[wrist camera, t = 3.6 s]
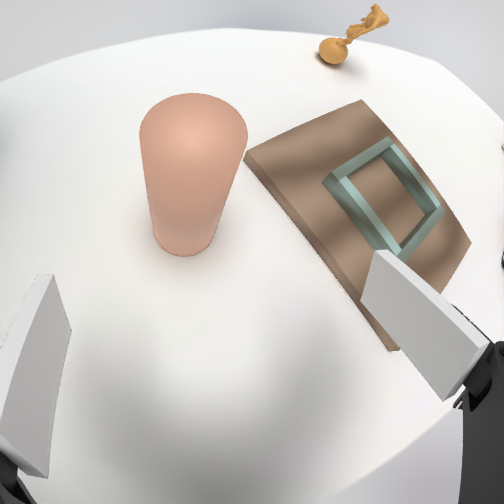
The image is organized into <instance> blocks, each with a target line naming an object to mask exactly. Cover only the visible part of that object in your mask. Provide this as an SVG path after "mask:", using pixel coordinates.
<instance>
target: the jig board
mask: <svg viewBox="0 0 504 504" xmlns="http://www.w3.org/2000/svg"><path fill="white" fill-rule="evenodd" d="M243 160H244V162H245V163H246V164H247V165H248V166H249V168H250V169H251V170H252V171H253V172H254V174H255V175H256V176H257V177H258V178H259V180H260V181H261V182H262V183H263V185H264V186H265V187H266V188H267V189H268V191H269V192H270V193H271V194H272V196H273V197H274V198H275V199H276V200H277V202H278V203H279V204H280V205H281V207H282V208H283V209H284V210H285V212H286V213H287V214H288V215H289V217H290V218H291V219H292V221H293V222H294V223H295V224H296V226H297V227H298V228H299V229H300V231H301V232H302V233H303V235H304V236H305V237H306V238H307V240H308V241H309V242H310V244H311V245H312V246H313V247H314V249H315V250H316V251H317V253H318V254H319V255H320V257H321V258H322V259H323V261H324V262H325V263H326V264H327V266H328V267H329V268H330V270H331V271H332V272H333V274H334V275H335V276H336V278H337V279H338V281H339V282H340V283H341V285H342V286H343V287H344V289H345V290H346V291H347V293H348V294H349V295H350V297H351V298H352V300H353V301H354V302H355V304H356V305H357V306H358V308H359V309H360V311H361V312H362V313H363V315H364V316H365V318H366V319H367V320H368V322H369V323H370V325H371V326H372V327H373V329H374V330H375V332H376V333H377V335H378V336H379V337H380V339H381V340H382V342H383V343H384V345H385V346H386V348H387V349H388V350H389V351H399V350H400V347H399V346H398V345H397V344H396V343H395V341H394V340H393V339H392V338H391V337H390V335H389V334H388V333H387V332H386V331H385V329H384V328H383V327H382V326H381V325H380V323H379V322H378V321H377V320H376V319H375V318H374V316H373V315H372V314H371V313H370V312H369V311H368V309H367V308H366V307H365V306H364V305H363V304H362V302H361V301H360V300H361V297H362V293H363V290H364V287H365V283H366V280H367V276H368V273H369V269H370V266H371V262H372V258H373V254H374V251H375V250H386V249H387V250H389V251H390V252H391V253H392V254H393V255H395V256H396V257H397V258H398V259H400V260H401V261H402V262H403V263H404V264H406V265H407V266H408V267H409V268H410V269H411V270H413V271H414V272H415V273H416V274H417V275H419V276H420V277H421V278H422V279H423V280H424V281H425V282H427V283H428V284H429V285H430V286H431V287H432V288H433V289H435V290H436V291H437V292H438V293H439V294H441V293H442V291H443V290H444V288H445V286H446V285H447V283H448V282H449V280H450V279H451V277H452V275H453V274H454V272H455V271H456V269H457V267H458V266H459V264H460V262H461V261H462V259H463V257H464V255H465V254H466V252H467V250H468V248H469V247H470V245H471V241H470V239H469V238H468V236H467V234H466V233H465V231H464V229H463V228H462V226H461V225H460V223H459V221H458V220H457V218H456V217H455V215H454V214H453V212H452V211H451V209H450V208H449V206H448V205H447V203H446V202H445V200H444V199H443V197H442V196H441V194H440V193H439V192H438V190H437V189H436V187H435V186H434V185H433V183H432V182H431V180H430V179H429V178H428V176H427V175H426V174H425V172H424V171H423V170H422V168H421V167H420V166H419V165H418V163H417V162H416V161H415V159H414V158H413V157H412V156H411V154H410V153H409V152H408V151H407V150H406V148H405V147H404V146H403V145H402V144H401V142H400V141H399V140H398V139H397V138H396V136H395V135H394V134H393V133H392V132H391V131H390V130H389V128H388V127H387V126H386V125H385V124H384V123H383V122H382V121H381V119H380V118H379V117H378V116H377V115H376V114H375V113H374V112H373V111H372V110H371V109H370V108H369V107H368V106H367V105H366V104H365V102H364V101H363V100H362V99H361V100H359V101H356V102H354V103H351V104H349V105H346V106H344V107H341V108H339V109H337V110H334V111H332V112H329V113H327V114H325V115H322V116H320V117H318V118H315V119H313V120H311V121H309V122H306V123H304V124H302V125H300V126H297V127H295V128H293V129H291V130H289V131H287V132H284V133H282V134H280V135H278V136H276V137H274V138H272V139H270V140H268V141H266V142H264V143H261V144H259V145H257V146H255V147H253V148H251V149H249V150H247V151H246V154H245V157H244V159H243Z"/></svg>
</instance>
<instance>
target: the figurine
mask: <svg viewBox="0 0 504 504" xmlns="http://www.w3.org/2000/svg"><path fill="white" fill-rule="evenodd" d="M371 10H372V12H371V13H370V14H369V15H368V16H367V18H362V19H361V21H363V20H364V21H365V22H364V23H362V24H356V25H350V26H349V29H347V31H346V34H347V39H342V38H338V39H337V38H327V39H325V40H323V41H322V42H321V44H320V46H319V54H320V56H321V58H322V59H323V60H324V61H326V62H328V63H330V64H339V63H341V62H343V61H344V60H345V59H346V57H347V55H348V50H347V47H346V45H347V44H350V43H352V41H353V40H354V39H355V38H357V37H358V36H360V35H362V34H365V33H367V32H370V31H372V30H374V29H375V28H379V27H382V26H385V25H386V24H388V22H389V18H388V16H387V15H386V14H385V13H384V12H383V11H382V10H381V9H380V7H379V6H378V5H377V4H374V5H373V7H371Z"/></svg>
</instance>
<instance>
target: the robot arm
mask: <svg viewBox="0 0 504 504" xmlns="http://www.w3.org/2000/svg"><path fill="white" fill-rule="evenodd" d="M360 301H361V302H362V304H363V305H364V306H365V307H366V308H367V309H368V311H369V312H370V313H371V314H372V315H373V316H374V318H375V319H376V320H377V321H378V322H379V323H380V325H381V326H382V327H383V328H384V329H385V331H386V332H387V333H388V334H389V335H390V337H391V338H392V339H393V340H394V341H395V343H396V344H397V345H398V346H399V347H400V349H401V350H402V351H403V352H404V354H405V355H406V356H407V357H408V358H409V360H410V361H411V362H412V363H413V365H414V366H415V367H416V368H417V370H418V371H419V372H420V373H421V375H422V376H423V377H424V378H425V380H426V381H427V382H428V383H429V385H430V386H431V387H432V389H433V390H434V391H435V392H436V394H437V395H438V396H439V398H440V399H441V400H442V401H444V400H446V399H448V398H450V397H451V396H453V395H455V393H456V392H457V391H458V389H459V388H460V387H461V385H462V384H463V385H464V386H465V387H466V388H465V390H464V391H463V392H462V394H461V395H460V396H459V398H458V399H457V400H456V401H455V403H454V405H453V408H456V406H457V405H458V404H459V403H460V402H461V401H462V403H461V405H460V406H459V408H458V409H462V410H463V456H462V473H461V484H460V493H459V502H458V504H504V341H498V342H496V344H494V343H493V342H492V341H491V340H490V339H489V338H488V337H487V336H486V335H485V334H484V333H483V332H482V331H481V330H480V329H479V328H478V327H477V326H476V325H475V324H473V323H472V322H470V320H469V319H468V318H467V317H466V316H464V315H463V313H462V312H461V311H460V310H459V309H458V308H456V307H455V306H454V305H452V304H450V303H449V302H448V301H447V300H446V299H445V298H443V297H442V296H441V295H440V294H439V293H438V292H437V291H436V290H435V289H433V288H432V287H431V286H430V285H429V284H428V283H427V282H425V281H424V280H423V279H422V278H421V277H420V276H419V275H417V274H416V273H415V272H414V271H413V270H411V269H410V268H409V267H408V266H407V265H406V264H404V263H403V262H402V261H401V260H400V259H398V258H397V257H396V256H395V255H393V254H392V253H391V252H390V251H389V250H387V249H386V250H375V251H374V254H373V258H372V262H371V266H370V269H369V273H368V276H367V280H366V283H365V287H364V290H363V293H362V297H361V300H360ZM71 332H72V330H71V327H70V324H69V322H68V319H67V316H66V313H65V310H64V307H63V304H62V301H61V298H60V294H59V291H58V288H57V284H56V281H55V277H54V274H48V275H37V276H36V277H35V279H34V281H33V283H32V285H31V287H30V289H29V290H28V292H27V294H26V296H25V298H24V300H23V302H22V304H21V306H20V308H19V310H18V312H17V314H16V316H15V319H14V321H13V323H12V325H11V327H10V330H9V332H8V334H7V336H6V339H5V341H4V343H3V346H2V348H1V351H0V504H36V502H35V501H34V499H33V498H32V496H31V495H30V493H29V492H28V490H27V489H26V487H25V485H24V484H23V482H22V481H21V479H20V478H19V477H18V476H17V470H18V468H19V469H21V470H22V471H23V472H24V473H25V474H27V475H30V476H35V477H41V478H48V474H49V459H50V448H51V438H52V430H53V422H54V415H55V408H56V402H57V396H58V391H59V385H60V380H61V375H62V370H63V365H64V361H65V356H66V352H67V348H68V344H69V340H70V336H71Z"/></svg>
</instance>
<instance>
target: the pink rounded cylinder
mask: <svg viewBox="0 0 504 504" xmlns="http://www.w3.org/2000/svg"><path fill="white" fill-rule="evenodd" d="M139 133H140V146H141V154H142V162H143V169H144V177H145V183H146V190H147V197H148V203H149V209H150V215H151V221H152V226H153V232H154V236H155V238H156V240H157V242H158V244H159V245H160V246H161V247H162V248H163V249H164V250H165V251H167V252H169V253H170V254H173V255H176V256H192V255H195V254H198V253H200V252H201V251H203V250H204V249H205V248H206V247H207V246H208V245H209V244H210V243H211V241H212V239H213V237H214V234H215V231H216V228H217V225H218V222H219V219H220V216H221V214H222V211H223V208H224V205H225V202H226V199H227V197H228V194H229V191H230V188H231V186H232V183H233V180H234V177H235V175H236V172H237V169H238V166H239V164H240V161H241V158H242V156H243V153H244V150H245V148H246V144H247V140H248V132H247V127H246V124H245V122H244V120H243V118H242V116H241V115H240V114H239V112H238V111H237V110H236V109H235V108H234V107H232V106H231V105H230V104H228V103H227V102H225V101H223V100H221V99H219V98H216V97H213V96H210V95H206V94H199V93H187V94H180V95H175V96H172V97H169V98H167V99H165V100H163V101H161V102H159V103H158V104H156V105H155V106H154V107H152V108H151V109H150V110H149V112H148V113H147V114H146V116H145V117H144V119H143V121H142V123H141V126H140V132H139Z"/></svg>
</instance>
